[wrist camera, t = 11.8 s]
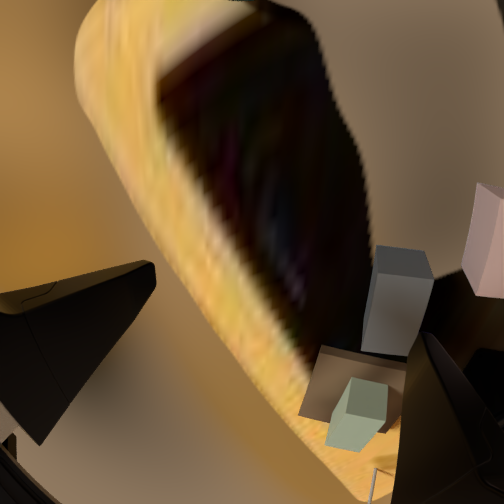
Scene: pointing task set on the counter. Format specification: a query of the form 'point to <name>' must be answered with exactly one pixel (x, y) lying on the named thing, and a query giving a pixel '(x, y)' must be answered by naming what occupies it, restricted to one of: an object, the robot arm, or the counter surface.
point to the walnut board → (338, 376)
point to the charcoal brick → (396, 300)
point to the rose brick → (486, 243)
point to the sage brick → (358, 415)
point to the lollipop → (372, 486)
